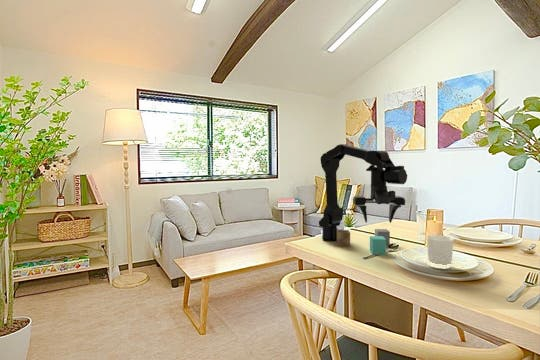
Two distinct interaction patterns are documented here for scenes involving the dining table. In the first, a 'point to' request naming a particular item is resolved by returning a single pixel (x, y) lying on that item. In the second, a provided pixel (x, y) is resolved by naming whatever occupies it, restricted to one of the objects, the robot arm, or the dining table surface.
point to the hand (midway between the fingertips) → (378, 222)
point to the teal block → (378, 245)
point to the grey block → (383, 234)
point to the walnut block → (343, 238)
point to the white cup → (440, 249)
